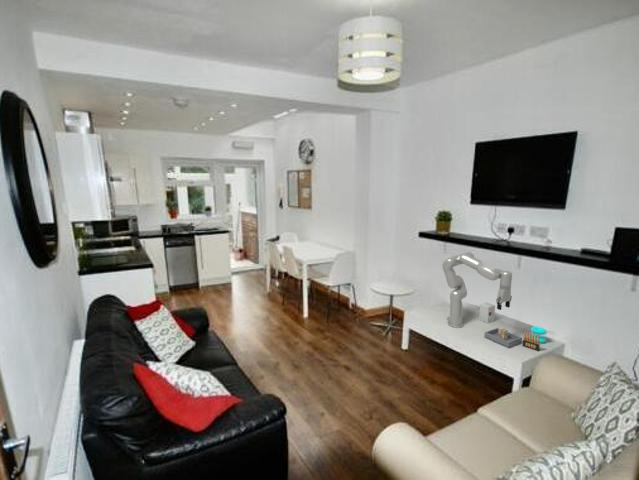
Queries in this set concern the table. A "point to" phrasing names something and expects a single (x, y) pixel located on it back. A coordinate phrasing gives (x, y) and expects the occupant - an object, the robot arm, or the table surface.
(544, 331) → the donuts
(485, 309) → the supplement box
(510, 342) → the tray
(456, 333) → the table surface
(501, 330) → the birch block
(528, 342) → the ammunition clip
